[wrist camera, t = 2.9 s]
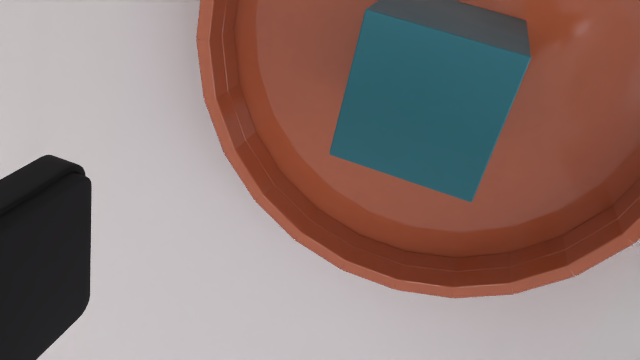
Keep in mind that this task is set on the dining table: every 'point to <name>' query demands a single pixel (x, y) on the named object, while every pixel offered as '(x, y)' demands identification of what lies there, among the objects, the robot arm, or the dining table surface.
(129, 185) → the dining table surface
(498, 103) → the block
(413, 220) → the bowl
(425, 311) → the dining table surface
